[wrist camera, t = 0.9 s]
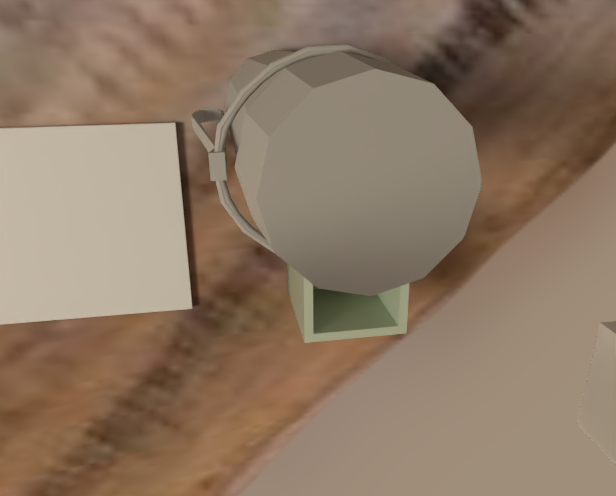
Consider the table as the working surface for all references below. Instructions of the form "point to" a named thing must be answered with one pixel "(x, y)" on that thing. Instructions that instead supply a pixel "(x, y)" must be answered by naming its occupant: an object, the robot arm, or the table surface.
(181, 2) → the table surface
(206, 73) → the table surface
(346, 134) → the water bottle
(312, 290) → the sage open box
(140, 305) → the felt mat
